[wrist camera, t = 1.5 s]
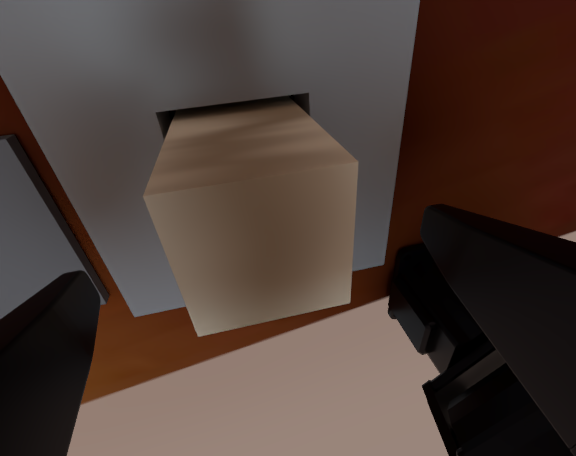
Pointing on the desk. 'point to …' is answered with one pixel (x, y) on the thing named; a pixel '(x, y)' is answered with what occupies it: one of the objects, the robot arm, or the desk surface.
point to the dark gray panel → (32, 233)
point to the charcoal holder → (200, 101)
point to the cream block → (254, 212)
